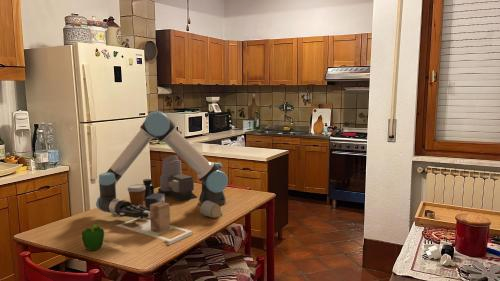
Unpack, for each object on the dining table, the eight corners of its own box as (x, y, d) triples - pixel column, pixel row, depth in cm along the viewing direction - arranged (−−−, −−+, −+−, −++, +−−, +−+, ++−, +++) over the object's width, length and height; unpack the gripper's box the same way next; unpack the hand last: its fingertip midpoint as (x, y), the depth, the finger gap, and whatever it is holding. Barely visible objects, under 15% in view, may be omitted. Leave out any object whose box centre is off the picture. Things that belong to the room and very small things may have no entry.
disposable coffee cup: (133, 211, 202) (131, 189, 201) (125, 207, 209) (124, 186, 208) (149, 207, 208) (148, 186, 207) (141, 203, 216) (140, 183, 214)
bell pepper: (82, 254, 149) (81, 229, 148) (82, 246, 157) (81, 223, 155) (105, 250, 153) (104, 226, 151) (104, 243, 160) (103, 220, 159)
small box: (157, 219, 189) (156, 198, 188) (145, 218, 191) (144, 198, 189) (166, 212, 200) (165, 193, 198) (154, 211, 201) (153, 192, 200)
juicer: (152, 192, 240) (151, 154, 237) (174, 188, 250) (173, 151, 247) (177, 202, 218) (176, 160, 214) (200, 197, 228) (199, 157, 225)
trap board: (116, 228, 177) (115, 225, 176) (139, 220, 188) (139, 217, 188) (169, 244, 157) (169, 241, 157) (192, 234, 169) (192, 230, 169)
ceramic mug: (211, 220, 187) (211, 205, 186) (200, 216, 192) (200, 201, 191) (226, 215, 195) (226, 200, 194) (215, 212, 200) (215, 197, 199)
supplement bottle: (139, 199, 223) (138, 180, 222) (149, 197, 229) (148, 177, 227) (147, 201, 219) (146, 181, 218) (156, 199, 224) (155, 179, 223)
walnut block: (150, 230, 169) (149, 204, 168) (160, 226, 174) (159, 201, 173) (160, 233, 166) (159, 206, 164) (170, 229, 171) (169, 203, 169)
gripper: (132, 211, 190) (165, 219, 177) (109, 218, 179) (143, 228, 166) (131, 196, 189) (165, 204, 176) (109, 203, 178) (142, 211, 165)
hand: (154, 216), depth 171 cm, fingers closed
